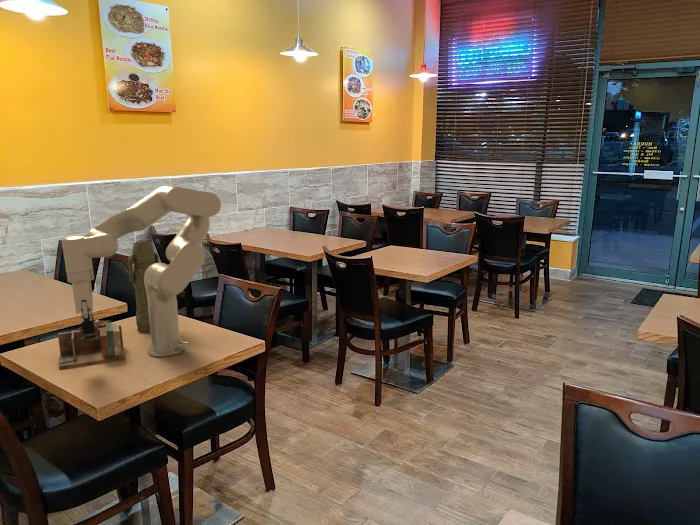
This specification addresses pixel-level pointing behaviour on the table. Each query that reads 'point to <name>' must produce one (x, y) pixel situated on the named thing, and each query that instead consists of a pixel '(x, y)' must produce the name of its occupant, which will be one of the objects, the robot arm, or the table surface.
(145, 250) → the robed figure statue
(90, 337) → the dark grey chess piece
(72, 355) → the bookend
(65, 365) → the shelf
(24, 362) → the table surface
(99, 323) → the box
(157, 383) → the table surface
